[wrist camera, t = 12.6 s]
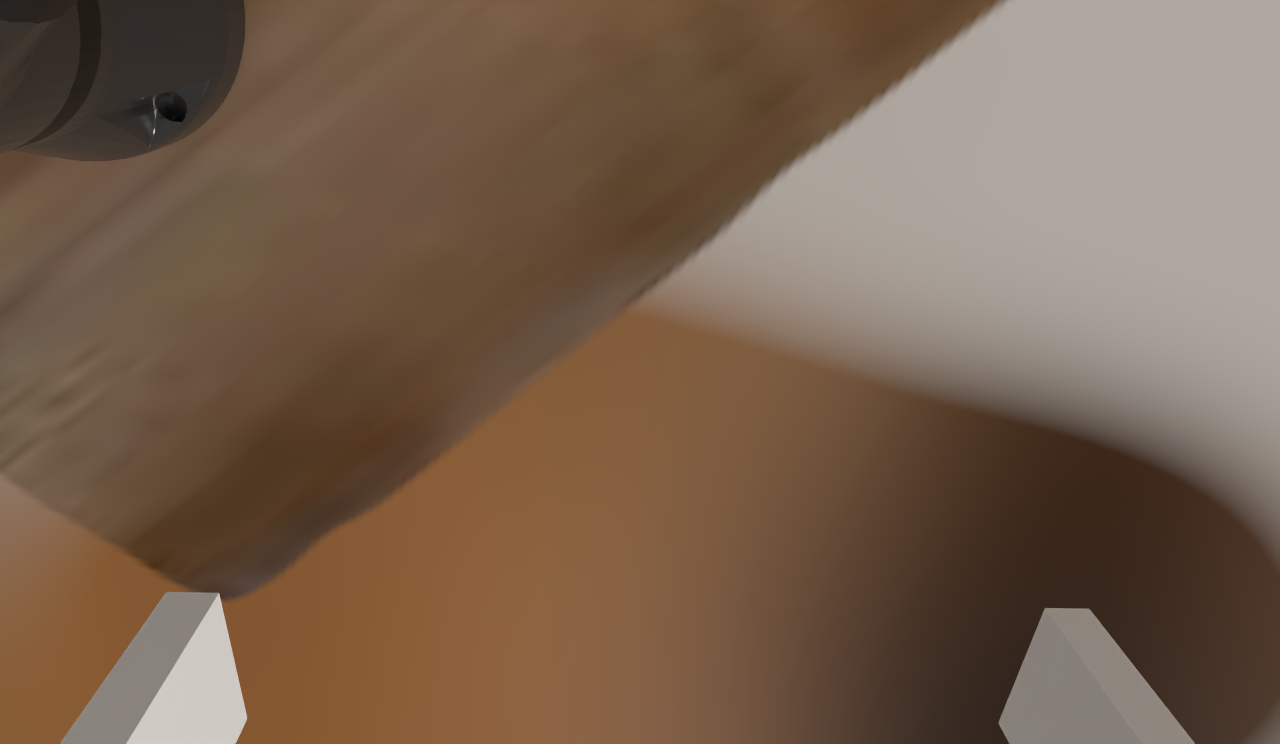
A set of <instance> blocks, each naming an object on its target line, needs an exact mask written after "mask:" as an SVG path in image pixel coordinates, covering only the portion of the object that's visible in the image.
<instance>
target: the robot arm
mask: <svg viewBox="0 0 1280 744" xmlns="http://www.w3.org/2000/svg"><path fill="white" fill-rule="evenodd" d="M244 36H245V11H244V2H243V0H0V153H3V152H6V151H9V150H16V151H22V152H28V153H34V154H40V155H46V156H52V157H58V158H64V159H70V160H80V161H109V160H118V159H126V158H130V157H135V156H139V155H142V154H145V153H148V152H151V151H154V150H156V149H159V148H162V147H164V146H167V145H169V144H172V143H174V142H177V141H178V140H180V139H182V138H184V137H186V136H188V135H189V134H191V133H192V132H194V131H195V130H197V129H198V128H199V127H201V126H202V125H203V124H204V123H205V122H206V121H207V120H208V119H209V118H210V117H211V116H212V115H213V114H214V113H215V112H216V111H217V109H218V108H219V107H220V105H221V104H222V103H223V101H224V99H225V98H226V96H227V94H228V93H229V91H230V89H231V87H232V85H233V82H234V80H235V77H236V75H237V72H238V69H239V65H240V61H241V57H242V52H243V45H244ZM246 720H247V715H246V711H245V707H244V702H243V698H242V693H241V689H240V684H239V680H238V675H237V671H236V667H235V662H234V658H233V654H232V649H231V644H230V640H229V635H228V631H227V627H226V622H225V618H224V613H223V609H222V604H221V600H220V595H219V593H189V592H166V593H165V595H164V596H163V598H162V599H161V601H160V602H159V603H158V605H157V606H156V608H155V609H154V610H153V612H152V613H151V615H150V616H149V617H148V619H147V620H146V622H145V623H144V625H143V626H142V627H141V629H140V631H139V632H138V633H137V635H136V636H135V638H134V639H133V640H132V642H131V643H130V645H129V646H128V647H127V649H126V651H125V652H124V653H123V655H122V656H121V657H120V659H119V660H118V662H117V663H116V665H115V666H114V667H113V669H112V670H111V672H110V673H109V675H108V676H107V677H106V679H105V680H104V682H103V683H102V685H101V686H100V687H99V689H98V690H97V692H96V693H95V694H94V696H93V697H92V699H91V700H90V702H89V703H88V704H87V706H86V707H85V709H84V710H83V711H82V713H81V714H80V716H79V717H78V719H77V720H76V722H75V723H74V724H73V726H72V727H71V729H70V730H69V731H68V733H67V734H66V736H65V737H64V739H63V740H62V742H61V743H60V744H235V743H236V741H237V739H238V737H239V735H240V733H241V731H242V729H243V726H244V724H245V722H246ZM999 725H1000V727H1001V729H1002V730H1003V732H1004V734H1005V736H1006V738H1007V740H1008V742H1009V743H1010V744H1195V743H1194V742H1193V741H1192V739H1191V738H1190V737H1189V736H1188V734H1187V733H1186V732H1185V731H1184V729H1183V728H1182V727H1181V726H1180V724H1179V723H1178V722H1177V720H1176V719H1175V718H1174V716H1173V715H1172V714H1171V713H1170V711H1169V710H1168V709H1167V708H1166V706H1165V705H1164V704H1163V702H1162V701H1161V700H1160V699H1159V697H1158V696H1157V695H1156V693H1155V692H1154V691H1153V690H1152V688H1151V687H1150V686H1149V685H1148V683H1147V682H1146V681H1145V679H1144V678H1143V677H1142V676H1141V674H1140V673H1139V672H1138V671H1137V669H1136V668H1135V667H1134V665H1133V664H1132V663H1131V662H1130V660H1129V659H1128V658H1127V656H1126V655H1125V654H1124V653H1123V651H1122V650H1121V649H1120V648H1119V646H1118V645H1117V644H1116V642H1115V641H1114V640H1113V639H1112V637H1111V636H1110V635H1109V634H1108V632H1107V631H1106V630H1105V628H1104V627H1103V626H1102V625H1101V623H1100V622H1099V621H1098V619H1097V618H1096V617H1095V616H1094V614H1093V613H1092V612H1091V611H1090V609H1065V608H1063V609H1062V608H1045V610H1044V612H1043V614H1042V617H1041V619H1040V622H1039V624H1038V627H1037V629H1036V632H1035V634H1034V637H1033V639H1032V642H1031V644H1030V647H1029V649H1028V652H1027V654H1026V656H1025V659H1024V662H1023V664H1022V667H1021V669H1020V671H1019V674H1018V676H1017V679H1016V681H1015V684H1014V686H1013V689H1012V691H1011V694H1010V696H1009V698H1008V701H1007V703H1006V706H1005V708H1004V711H1003V713H1002V716H1001V718H1000V721H999Z"/></svg>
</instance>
